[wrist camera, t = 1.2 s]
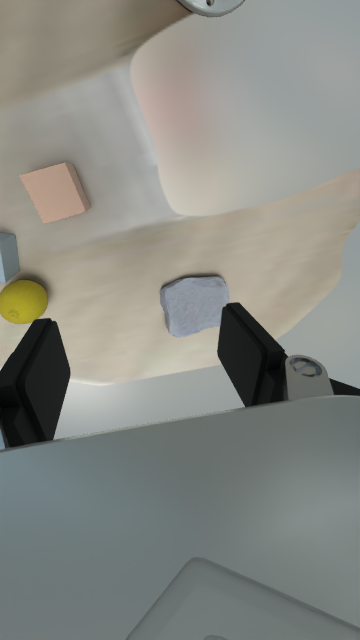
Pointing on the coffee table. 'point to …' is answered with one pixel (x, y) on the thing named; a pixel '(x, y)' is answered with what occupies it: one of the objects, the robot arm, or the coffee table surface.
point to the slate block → (8, 257)
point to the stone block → (194, 304)
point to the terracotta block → (55, 192)
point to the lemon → (23, 302)
